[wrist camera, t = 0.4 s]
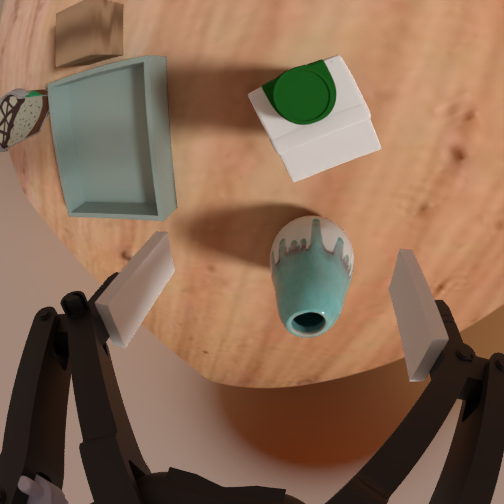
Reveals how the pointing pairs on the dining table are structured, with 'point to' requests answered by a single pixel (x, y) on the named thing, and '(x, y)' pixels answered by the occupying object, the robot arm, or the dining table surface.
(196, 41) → the dining table surface
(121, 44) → the walnut block
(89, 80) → the tote
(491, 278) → the dining table surface
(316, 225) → the vase
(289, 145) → the milk carton
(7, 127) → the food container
